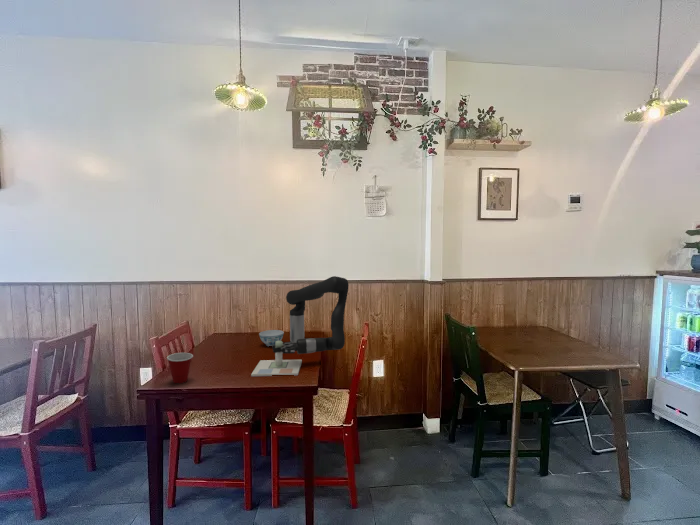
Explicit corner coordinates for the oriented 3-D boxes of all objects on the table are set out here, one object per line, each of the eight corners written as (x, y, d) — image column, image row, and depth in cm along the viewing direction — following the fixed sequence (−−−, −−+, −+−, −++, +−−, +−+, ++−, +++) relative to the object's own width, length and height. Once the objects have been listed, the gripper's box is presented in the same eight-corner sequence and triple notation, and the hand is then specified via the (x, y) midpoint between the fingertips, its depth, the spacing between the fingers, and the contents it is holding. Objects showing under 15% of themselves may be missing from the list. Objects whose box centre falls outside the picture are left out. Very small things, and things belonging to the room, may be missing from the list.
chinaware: (281, 348, 208) (280, 335, 208) (256, 348, 209) (256, 336, 208) (286, 341, 223) (286, 329, 223) (263, 341, 224) (262, 329, 223)
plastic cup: (183, 386, 153) (182, 360, 152) (162, 385, 155) (161, 358, 154) (198, 377, 163) (198, 352, 163) (178, 376, 165) (177, 351, 165)
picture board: (260, 362, 184) (260, 360, 184) (302, 361, 185) (301, 359, 185) (251, 376, 164) (251, 374, 164) (297, 375, 165) (297, 373, 165)
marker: (275, 363, 178) (276, 340, 177) (282, 363, 178) (283, 340, 178) (274, 366, 175) (274, 342, 174) (281, 366, 175) (282, 342, 174)
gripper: (303, 335, 187) (271, 338, 182) (308, 342, 173) (273, 345, 168) (304, 349, 187) (271, 352, 182) (308, 357, 174) (274, 360, 169)
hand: (272, 349), depth 175 cm, fingers open, 4 cm apart
